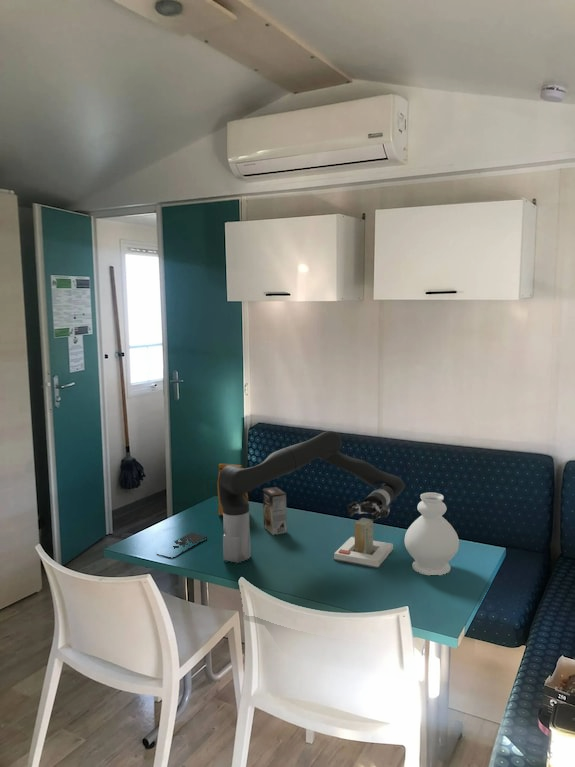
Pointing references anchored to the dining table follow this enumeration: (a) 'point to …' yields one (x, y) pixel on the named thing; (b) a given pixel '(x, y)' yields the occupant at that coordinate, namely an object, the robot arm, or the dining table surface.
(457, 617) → the dining table surface
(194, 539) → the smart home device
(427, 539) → the decorative vase
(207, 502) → the dining table surface
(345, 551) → the socket plate
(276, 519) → the coffee box
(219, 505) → the coffee package
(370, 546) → the skincare box
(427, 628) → the dining table surface
